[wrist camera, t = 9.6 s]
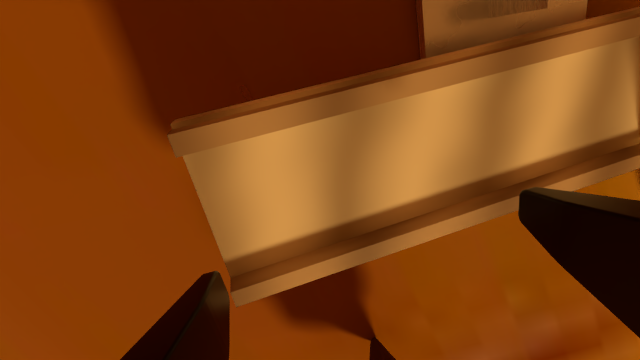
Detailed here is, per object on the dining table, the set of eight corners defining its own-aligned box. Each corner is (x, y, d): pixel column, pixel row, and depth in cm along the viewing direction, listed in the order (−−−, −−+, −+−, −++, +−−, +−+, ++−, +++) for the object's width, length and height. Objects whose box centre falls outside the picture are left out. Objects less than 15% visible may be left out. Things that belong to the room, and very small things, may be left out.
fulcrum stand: (581, -64, 18) (689, -105, 13) (557, 188, 24) (625, 220, 20) (413, -28, 17) (465, -58, 13) (432, 221, 24) (472, 262, 19)
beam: (720, -14, 17) (780, -23, 15) (683, 133, 20) (729, 139, 18) (174, 119, 12) (164, 129, 10) (237, 281, 15) (237, 310, 14)
